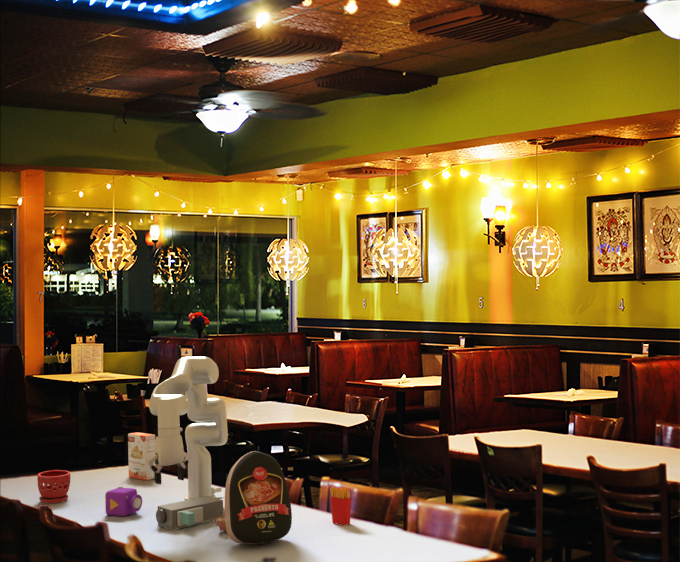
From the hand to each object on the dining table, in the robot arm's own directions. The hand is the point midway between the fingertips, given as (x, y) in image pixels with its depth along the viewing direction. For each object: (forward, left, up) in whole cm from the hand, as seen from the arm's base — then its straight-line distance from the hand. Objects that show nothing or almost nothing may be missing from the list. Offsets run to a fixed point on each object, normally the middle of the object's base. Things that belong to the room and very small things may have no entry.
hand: (169, 481), depth 302 cm
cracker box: (-43, -99, -19) cm, 110 cm away
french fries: (-51, +33, -19) cm, 63 cm away
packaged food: (-15, +32, -19) cm, 40 cm away
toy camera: (-3, -39, -19) cm, 43 cm away
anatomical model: (-23, +12, -19) cm, 32 cm away
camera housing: (-14, -9, -18) cm, 25 cm away
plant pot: (+7, -82, -19) cm, 84 cm away
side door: (-10, -1, -17) cm, 20 cm away
